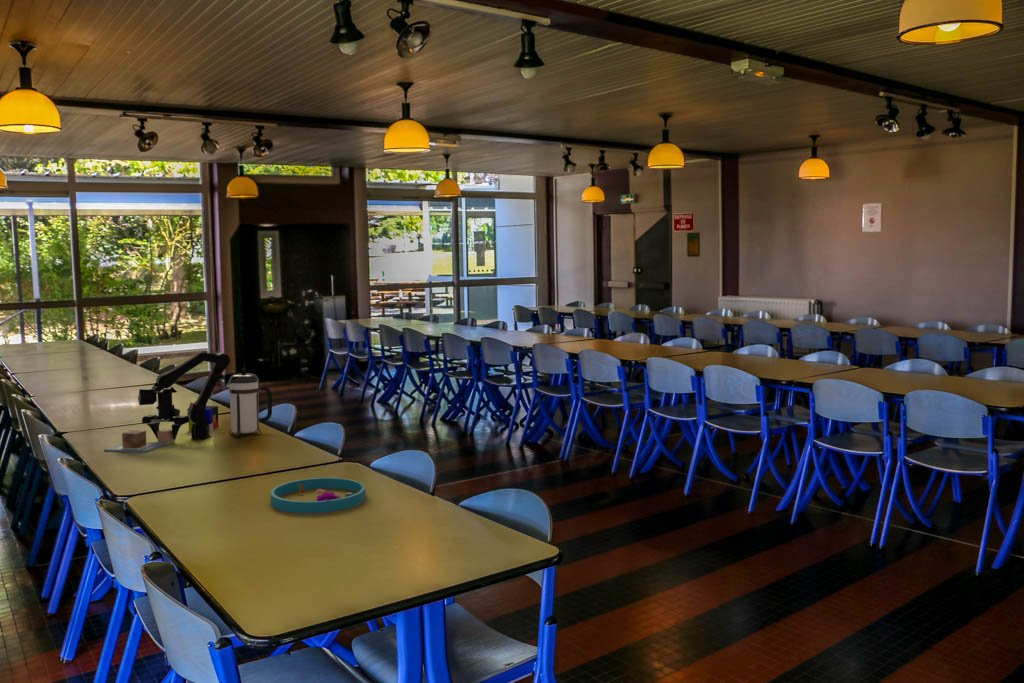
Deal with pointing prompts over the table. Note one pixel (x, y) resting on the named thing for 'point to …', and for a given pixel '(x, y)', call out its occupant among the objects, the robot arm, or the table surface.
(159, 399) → the robot arm
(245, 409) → the coffee press
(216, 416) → the puzzle toy
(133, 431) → the walnut block
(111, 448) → the mat
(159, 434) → the terracotta block
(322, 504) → the teal ring
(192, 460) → the table surface
